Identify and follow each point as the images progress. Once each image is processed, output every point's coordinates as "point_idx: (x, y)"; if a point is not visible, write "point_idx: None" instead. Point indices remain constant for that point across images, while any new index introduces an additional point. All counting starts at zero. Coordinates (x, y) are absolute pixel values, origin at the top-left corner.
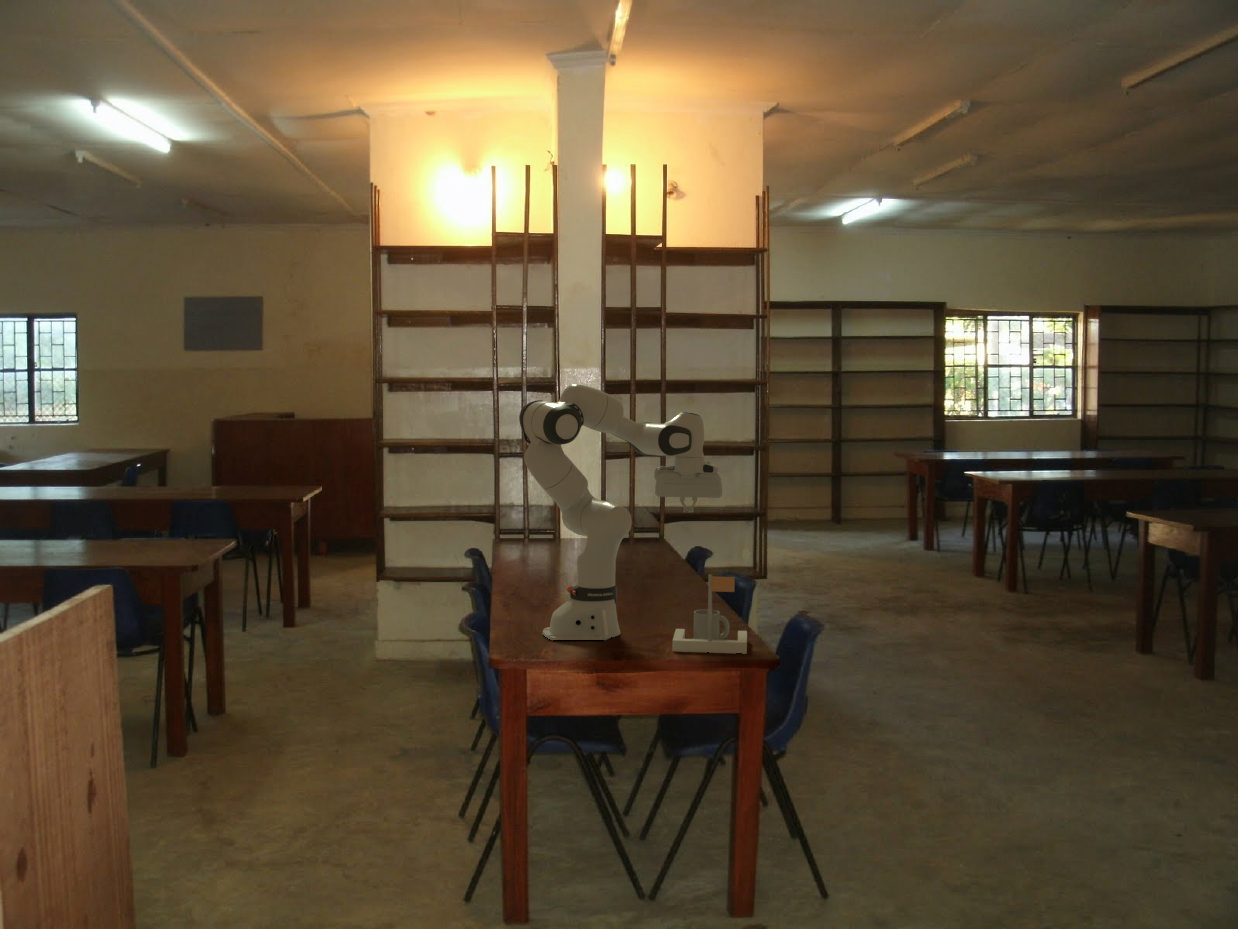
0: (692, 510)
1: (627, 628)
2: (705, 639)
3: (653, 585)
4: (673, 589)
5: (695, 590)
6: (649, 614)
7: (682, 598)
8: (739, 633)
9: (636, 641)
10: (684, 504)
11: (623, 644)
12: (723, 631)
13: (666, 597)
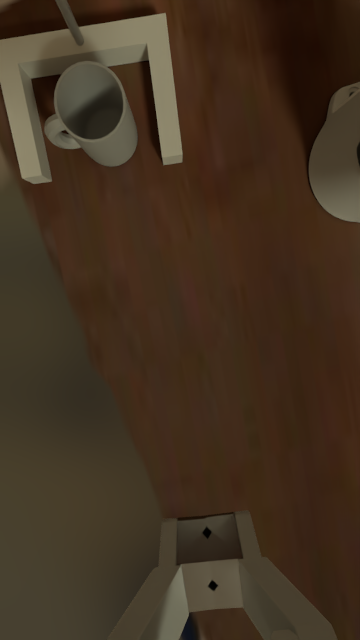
0: (166, 528)
1: (302, 240)
2: (91, 50)
3: None
4: None
5: None
6: (278, 383)
7: None
8: (31, 144)
9: (262, 115)
10: (256, 581)
11: (285, 75)
12: (65, 136)
13: (269, 536)
